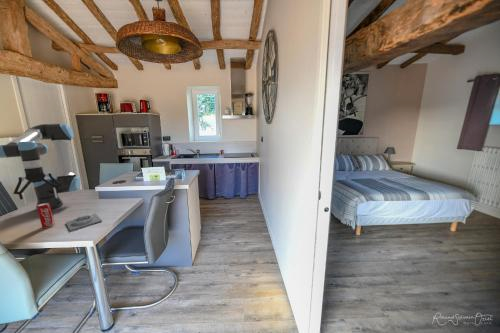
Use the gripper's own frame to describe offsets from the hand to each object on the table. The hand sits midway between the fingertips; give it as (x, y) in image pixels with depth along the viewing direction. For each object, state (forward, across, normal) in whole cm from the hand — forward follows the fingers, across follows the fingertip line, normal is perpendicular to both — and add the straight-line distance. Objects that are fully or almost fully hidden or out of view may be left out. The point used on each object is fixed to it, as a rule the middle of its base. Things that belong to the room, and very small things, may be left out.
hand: (41, 200), depth 126 cm
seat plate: (+18, +16, -12) cm, 26 cm away
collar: (+18, +16, -12) cm, 26 cm away
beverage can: (+18, 0, 0) cm, 18 cm away
